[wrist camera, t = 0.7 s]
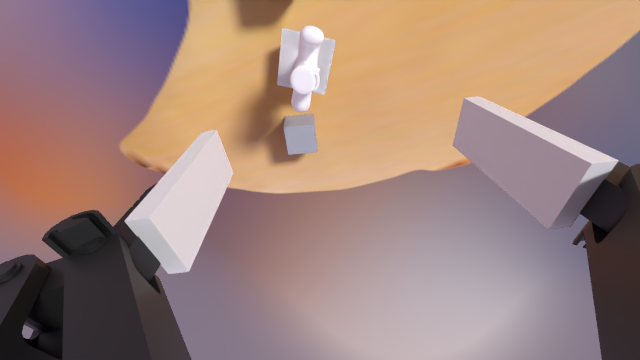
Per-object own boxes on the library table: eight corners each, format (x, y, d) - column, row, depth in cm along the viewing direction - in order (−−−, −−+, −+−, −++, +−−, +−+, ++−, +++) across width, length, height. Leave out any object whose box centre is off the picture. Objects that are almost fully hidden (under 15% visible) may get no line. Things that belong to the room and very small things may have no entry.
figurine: (278, 86, 38) (266, 119, 26) (285, 17, 33) (273, 17, 21) (321, 95, 39) (329, 130, 27) (334, 29, 34) (352, 36, 22)
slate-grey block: (285, 116, 41) (283, 127, 37) (313, 113, 41) (314, 123, 37) (289, 142, 44) (288, 154, 40) (316, 139, 44) (317, 151, 40)
